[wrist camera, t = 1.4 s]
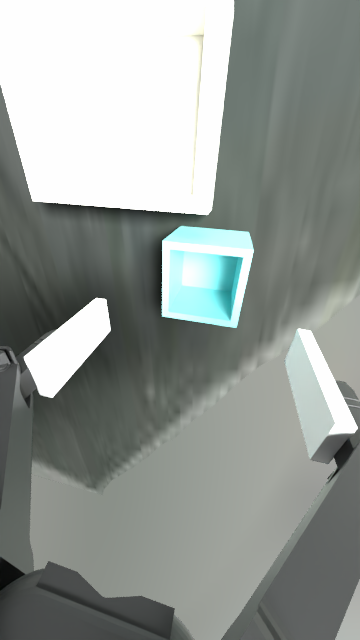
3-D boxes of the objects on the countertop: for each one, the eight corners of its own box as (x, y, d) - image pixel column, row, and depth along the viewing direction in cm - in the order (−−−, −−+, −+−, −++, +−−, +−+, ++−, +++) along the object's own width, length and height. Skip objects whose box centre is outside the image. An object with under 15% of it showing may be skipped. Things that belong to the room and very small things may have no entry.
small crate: (177, 287, 31) (162, 316, 24) (180, 225, 27) (162, 240, 20) (236, 294, 30) (236, 327, 23) (248, 232, 25) (253, 249, 19)
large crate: (60, 198, 28) (32, 200, 24) (22, 23, 20) (-26, -12, 16) (211, 209, 25) (207, 214, 21) (233, 11, 17) (233, -35, 14)
